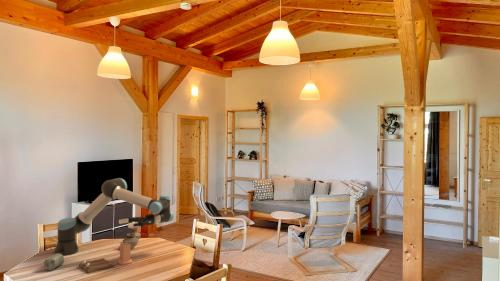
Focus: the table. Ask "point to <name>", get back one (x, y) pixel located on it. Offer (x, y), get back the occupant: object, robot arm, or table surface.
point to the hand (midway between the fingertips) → (123, 223)
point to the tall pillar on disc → (125, 254)
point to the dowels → (85, 264)
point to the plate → (97, 265)
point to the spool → (53, 261)
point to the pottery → (132, 237)
